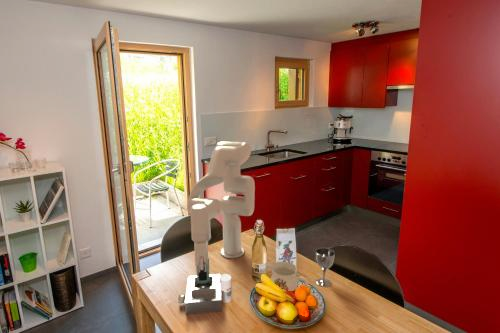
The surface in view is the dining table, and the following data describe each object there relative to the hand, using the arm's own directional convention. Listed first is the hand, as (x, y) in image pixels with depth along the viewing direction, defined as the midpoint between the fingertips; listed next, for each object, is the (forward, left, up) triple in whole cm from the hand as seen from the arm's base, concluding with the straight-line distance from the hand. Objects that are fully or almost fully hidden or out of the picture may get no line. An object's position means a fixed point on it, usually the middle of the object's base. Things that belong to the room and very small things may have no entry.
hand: (203, 275), depth 127 cm
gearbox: (0, -1, -11) cm, 11 cm away
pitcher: (+4, +34, -11) cm, 36 cm away
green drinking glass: (0, 0, -2) cm, 2 cm away
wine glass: (-4, +53, -11) cm, 54 cm away
